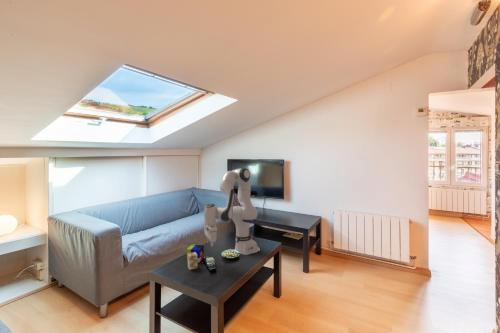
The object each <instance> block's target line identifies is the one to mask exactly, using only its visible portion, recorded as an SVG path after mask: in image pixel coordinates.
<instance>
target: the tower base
mask: <svg viewBox="0 0 500 333" xmlns="http://www.w3.org/2000/svg"><path fill="white" fill-rule="evenodd" d="M187 267H188V270H189V271H191V270H196V269H198V262H193V263H189V262H188V261H187Z"/></svg>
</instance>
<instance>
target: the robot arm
mask: <svg viewBox="0 0 500 333" xmlns="http://www.w3.org/2000/svg"><path fill="white" fill-rule="evenodd" d="M250 177H251V173H250V170H249V169H248V168H246V167H245V168H243V167H242V168H241V167H240V168H236V169H232V170H228V171H226V172H224V174H223V177H222V178H221V181H220V185H219V190H220V191H221V193H223V195H225V196H227V201H226V206H225V207H221V206H217V205H215V203H208V204H206V205H205V206H204V210H203V212H204V214H203V218H204V221H203V224H204V225H203V230H204V236H206V242H207V243H210V245H209V246H210V247H214V244H215V243H216V242H217V239H218V238H217V236H218V233H217V231H218V227H217V221H223V222H229V221H230V220H232V221H233V223H234V225H235V247H234V250H236V251H238V252H240V255H245V256H248V255H251V254H255V253H258V251H259V252H260V251H261V248H260V247H259V246H258V243H257V242H256V241H255V240H253V238H254V236H253V235H251V234H250V226H249V224H248V223H246V222H244V221H245V220H246V221H251V220H255V219H257V217H258V210H257V208H256V207H255V206H254V205H253V203H252V200H251V189H252V188H251V181H250ZM237 182H238V187H237V200H238V201H239V202H240V203H242V204H243V206H240V205H239V206H238V205H237V206H236V205H235V206H234V203H235V198H236V197H235V196H236V191H235V190H234V186H235V183H237ZM216 220H217V221H216ZM243 220H244V221H243Z"/></svg>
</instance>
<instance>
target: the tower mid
mask: <svg viewBox="0 0 500 333" xmlns="http://www.w3.org/2000/svg"><path fill="white" fill-rule="evenodd" d="M188 262H189V263H193V262H197V254H196V252H193V253H188V261H187V263H188ZM197 263H198V262H197Z"/></svg>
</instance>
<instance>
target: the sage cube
mask: <svg viewBox="0 0 500 333" xmlns="http://www.w3.org/2000/svg"><path fill="white" fill-rule="evenodd" d="M205 258H206V259H205V261H207V263H213V264H214V265H215V258H214V257H205Z"/></svg>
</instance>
